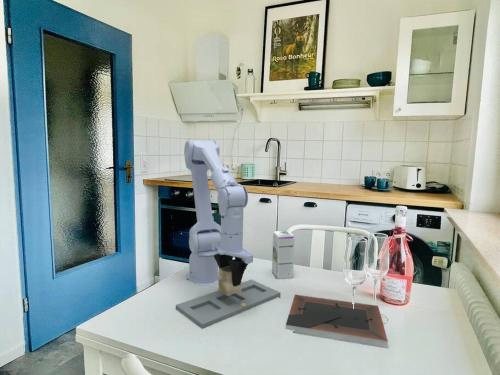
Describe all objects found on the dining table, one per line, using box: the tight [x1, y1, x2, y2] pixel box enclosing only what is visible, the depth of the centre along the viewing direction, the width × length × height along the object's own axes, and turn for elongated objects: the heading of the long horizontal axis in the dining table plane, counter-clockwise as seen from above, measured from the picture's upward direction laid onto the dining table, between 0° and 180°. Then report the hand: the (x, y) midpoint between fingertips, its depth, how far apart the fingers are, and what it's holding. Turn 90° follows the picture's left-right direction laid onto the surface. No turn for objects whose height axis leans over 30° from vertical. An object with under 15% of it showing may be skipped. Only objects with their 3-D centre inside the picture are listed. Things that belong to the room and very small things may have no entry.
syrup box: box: [271, 230, 295, 280], centre depth 106 cm, size 6×6×14 cm
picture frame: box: [285, 294, 389, 349], centre depth 79 cm, size 16×2×22 cm
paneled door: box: [175, 279, 282, 330], centre depth 86 cm, size 12×26×2 cm, turn 132°
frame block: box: [218, 266, 241, 296], centre depth 85 cm, size 4×4×6 cm
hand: (231, 282), depth 85 cm, fingers closed on frame block, 4 cm apart
